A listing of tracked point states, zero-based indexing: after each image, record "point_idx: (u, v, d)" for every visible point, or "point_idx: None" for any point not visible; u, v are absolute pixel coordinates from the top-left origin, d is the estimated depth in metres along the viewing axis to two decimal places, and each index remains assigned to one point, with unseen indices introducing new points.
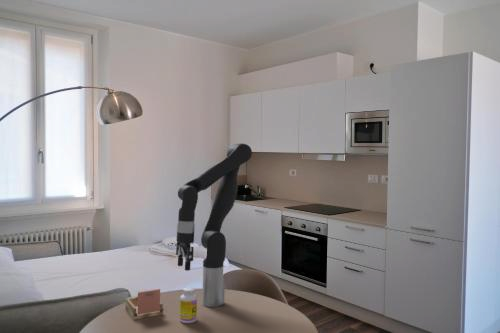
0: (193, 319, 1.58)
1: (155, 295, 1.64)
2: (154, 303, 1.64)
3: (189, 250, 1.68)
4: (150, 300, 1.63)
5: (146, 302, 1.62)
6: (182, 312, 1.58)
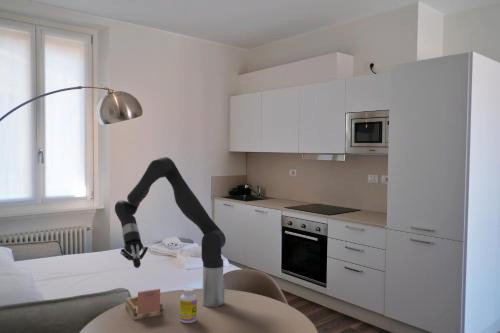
0: (193, 319, 1.58)
1: (155, 295, 1.64)
2: (154, 303, 1.64)
3: (122, 254, 1.81)
4: (150, 300, 1.63)
5: (146, 302, 1.62)
6: (182, 312, 1.58)
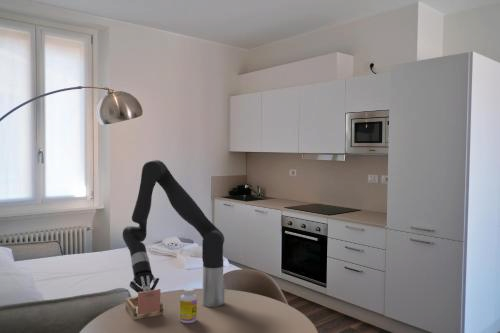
0: (193, 319, 1.58)
1: (156, 295, 1.64)
2: (154, 303, 1.64)
3: (131, 286, 1.66)
4: (150, 300, 1.63)
5: (146, 302, 1.62)
6: (182, 312, 1.58)
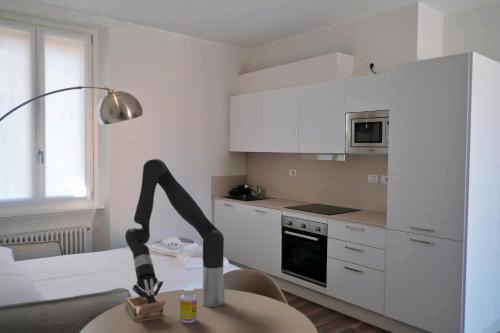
0: (193, 319, 1.58)
1: (159, 306, 1.60)
2: (156, 309, 1.62)
3: (134, 290, 1.62)
4: (153, 308, 1.60)
5: (148, 310, 1.59)
6: (182, 312, 1.58)
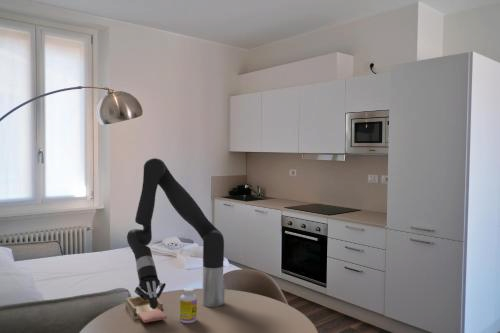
0: (193, 319, 1.58)
1: None
2: None
3: (136, 292, 1.59)
4: None
5: None
6: (182, 312, 1.58)
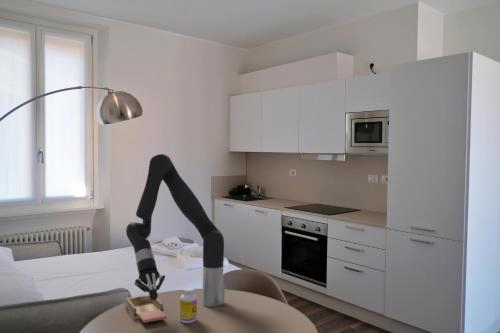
0: (193, 319, 1.58)
1: None
2: None
3: (136, 285, 1.60)
4: None
5: None
6: (182, 312, 1.58)
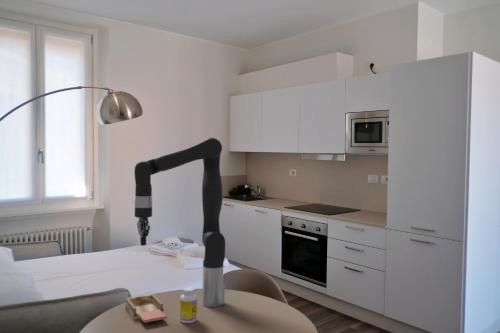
0: (193, 319, 1.58)
1: None
2: None
3: (145, 229, 1.71)
4: None
5: None
6: (182, 312, 1.58)
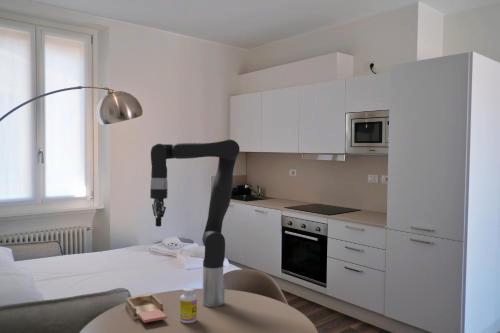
0: (193, 319, 1.58)
1: None
2: None
3: (161, 210, 1.74)
4: None
5: None
6: (182, 312, 1.58)
